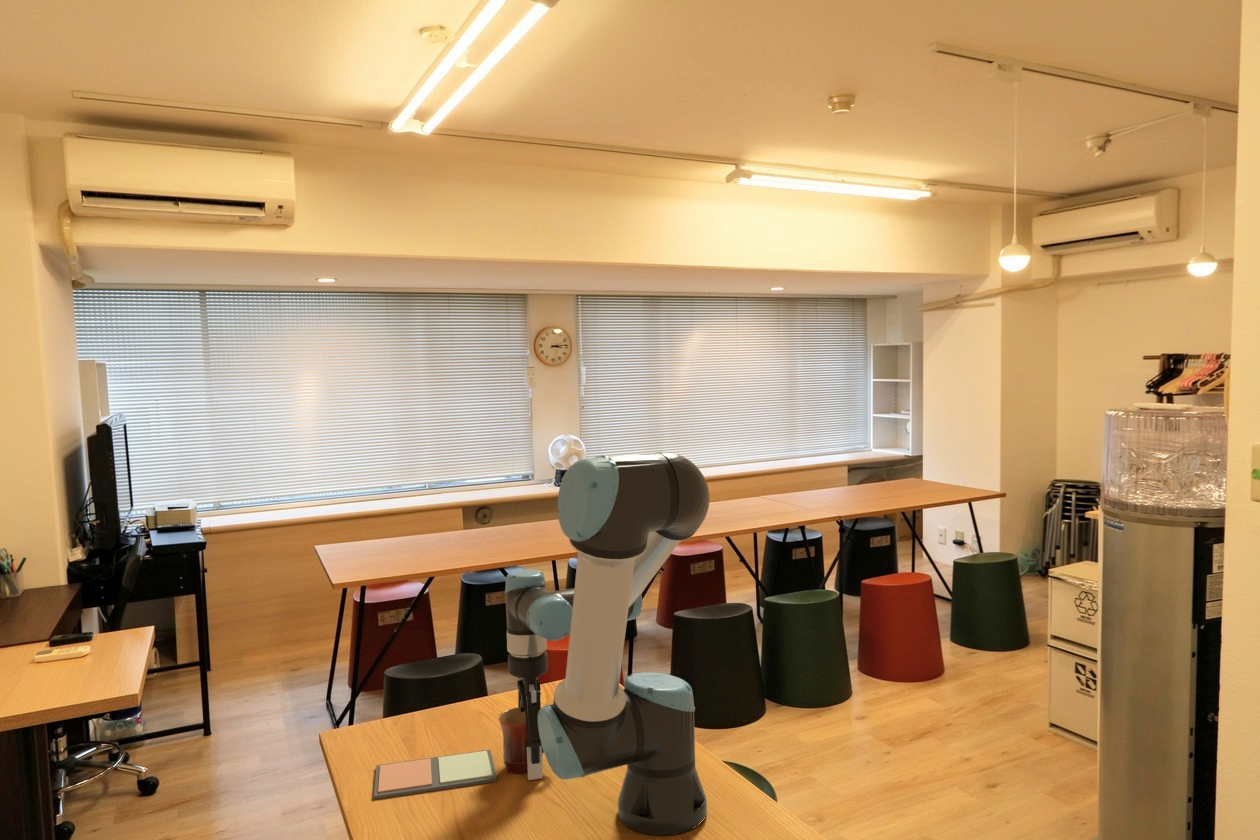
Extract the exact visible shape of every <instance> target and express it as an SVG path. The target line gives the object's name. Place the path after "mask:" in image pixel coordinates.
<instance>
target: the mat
mask: <svg viewBox="0 0 1260 840" xmlns="http://www.w3.org/2000/svg"><path fill="white" fill-rule="evenodd" d="M496 772H497V771H496V767H495V764H494V760H493V755H492V750H491V749H485V750H478V751H470V752H463V753H456V754H454V753H453V754H448V755H442V756H434V757H427V758H426V757H425V758H420V759H413V760H404V761H403V760H402V761H397V762H390V763H383V764H376V766H375V777H374V789H373V800H380V799H387V798H394V797H400V796H408V795H413V794H421V793H427V792H433V791H441V790H447V789H455V788H462V787H467V786H468V787H469V786H474V785H481V784H488V783H489V784H490V783H495V782H496V783H497V781H498V778H497V773H496Z"/></svg>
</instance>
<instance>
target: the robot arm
mask: <svg viewBox="0 0 1260 840" xmlns="http://www.w3.org/2000/svg"><path fill="white" fill-rule="evenodd" d="M562 477H563V478H562V479H561V482H560V486H559V490H558V496H557V511H559V514H558V521H559V526H560V528H561V531H562V533H563V534H564V535H565V536H566V537H567V538H568V539H569V544H570V546H571V547H572V548H573V549H574V550H575V551H576V552H577V561H576V572H575V579H574V588H572V587H571V588H566V589H559V590H553V591H552V590H551V591H550V590H548V589H546V586H547V583H546V579H545V574H544V572H543V571H541V570H538V569H521V570H520V569H519V570H515V571H512V572H510V573H508V574H507V575H506V577H505V587H504V588H505V589H504V594H505V611H506V613H505V615H506V648H507V649H506V650H507V652H508V653H509V654H508V655H507V666H508V667H507V670H508V673H509V675H511V676H512V677H515V678H517V681H516V682H517V683H516V684H517V685H516V686H517V694H518V695H517V696H518V697H517V699H518V701H517V703H518V705H517V706H518V707H517V708H519V707H520V709H521V712H525V716H526V727H527V738H528V742H527V744H524V747H527V767H528V774H527V781H534V780H540V779H543V778H544V776H543V775H544V774H543V772H544V771H543V769H544V768H543V756H542V747H543V751H544V753H543V755H544V756H545V759H546V761H547V763H548V765H549V767H550V769H551V771H552V772H553V773H554V775H555V776H557V777H558V778H559V779H561V780H572V779H578V778H585V777H586V776H590V775H594V774H596V773H597V774H598V773H600V772H601V773H602V772H605V771H608V770H612V769H615V768H620V767H623V766H625V765H626V772H625V774H624V778H623V781H622V785H621V788H620V792H619V795H618V799H617V812H618V813H617V815H618V818H619V820H620V822H621V823H622V824H623V825H625V827H627V828H630V829H631V830H633V831H635V832H638V833H642V834H646V835H653V836H670V835H669V834H672V835H675V834H674V833H678V834H682V833H681V832H683V833H686V832H688V831H687V830H689V831H691V830H693V829H694V828H693V827H695V826H697V825H698V824H699V823H700V822H701V821H702V820H703V819H704V817H705V816H706V817H707V815H706V813H707V814H708V805H707V802H708V801H707V796H706V793H705V790H704V788H703V785H702V782H701V779H700V776H699V773H698V771H697V768H696V745H695V744H696V742H695V741H696V740H695V739H696V738H695V712H696V707H695V702H694V694H693V689H692V686H691V685H690V684H689V682H687V681H686V680H685V679H682V678H680V677H678V676H675V675H671V674H668V673H667V674H666V673H661V672H651V671H649V672H636V673H631V674H630V675H628V676H627V677H625V679H624V682H623V687H622V686H621V685H620V678H621V672H622V671H621V670H622V662H623V655H624V647H625V640H626V633H627V632H626V631H627V624H628V621H632V620H636V619H638V617H639V616H640V615H641V612H642V607H643V597H642V592H643V591H644V590H645V589H646V588H647V587H648V585H649V583H650V582H651V581H652V579H653V578H654V577H655V576H656V574H657V573H658V572H659V571H660V569H661V568H662V567H663V565H664V564H665V562H666V561H667V560H668V558H670V556H671V555H672V553H674V551H675V549H676V548H677V547H678V545H679V544H680V543H681V542H683V541H687V540H689V539H690V538H691V537H694V534H695V533H697V531H698V530H699V529H700V527H701V526H702V524H703V523H704V522H705V520H706V517H707V514H708V511H709V507H710V489H709V486H708V482H707V479H706V478H705V476H704V474H703V473H702V471H701V470H700V469H699V467H698V466H697V465H696V464H695V463H694V462H692V461H691V460H690V459H688V458H686V457H684V456H682V455H679V454H677V453H672V452H667V451H661V452H659V451H658V452H654V453H640V454H639V453H638V454H625V455H624V454H623V455H609V456H608V455H597V456H595V457H590V458H583V459H579V460H576V461H575V462H574V463H573V464H572V465H570V466H569V467H568V468H567V470H566V472H565V473H564V475H563V476H562ZM568 635H569V637H568V639H569V640H568V647H567V648H568V650H567V659H566V669H565V678H564V679H563V680H561V681H560V682H559V683H558V684H557V685H556V687H555V689H554V692H553V693H554V694H553V702H552V704H545V706H543V707H541V706H542V705H541V701H542V700H541V695H542V693H541V689H542V688H541V683H540V682H539V678H538V677H539V676H542V675H545V673H546V672H547V671H548V668H549V667H548V666H549V664H548V662H549V661H548V652H547V651H546V650H547V647H548V646H547V645H548V643H547V641H554V642H555V641H560V640H562V639H564V638H565V637H567V636H568ZM697 827H698V826H697ZM692 828H693V829H692ZM695 828H696V827H695ZM690 829H691V830H690ZM685 831H686V832H685Z"/></svg>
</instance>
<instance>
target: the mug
mask: <svg viewBox="0 0 1260 840" xmlns="http://www.w3.org/2000/svg"><path fill="white" fill-rule="evenodd" d="M498 721H499V722H498V723H499V724H500V727H501V731H502V735H503V736H502V737H503V740H502V741H503V743H502V745H503V746H502V748H503V749H502V750H503V752H502V753H503V756H502V757H503V763H504V767H505V770H506V771H508V772H509V773H511V774H513V775H521V776H522V775H528V767H527V747H524V744H527V742H528V738H527V727H526V716H525V712H521V709H520V707H519V708H518V707H513V708H510V709H507V710H504V711H503V712H501V713H500V714H499V715H498ZM543 755H544V751H543V747H542V757H543Z"/></svg>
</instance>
